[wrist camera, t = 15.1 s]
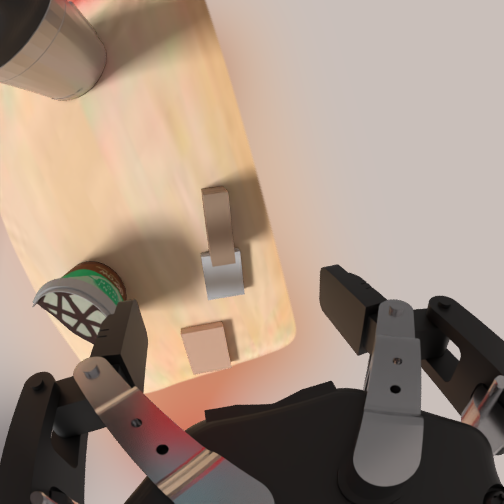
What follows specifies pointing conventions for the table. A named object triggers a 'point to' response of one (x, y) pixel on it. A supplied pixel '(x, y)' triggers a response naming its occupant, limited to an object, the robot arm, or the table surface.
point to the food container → (83, 298)
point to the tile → (206, 347)
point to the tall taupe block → (220, 247)
